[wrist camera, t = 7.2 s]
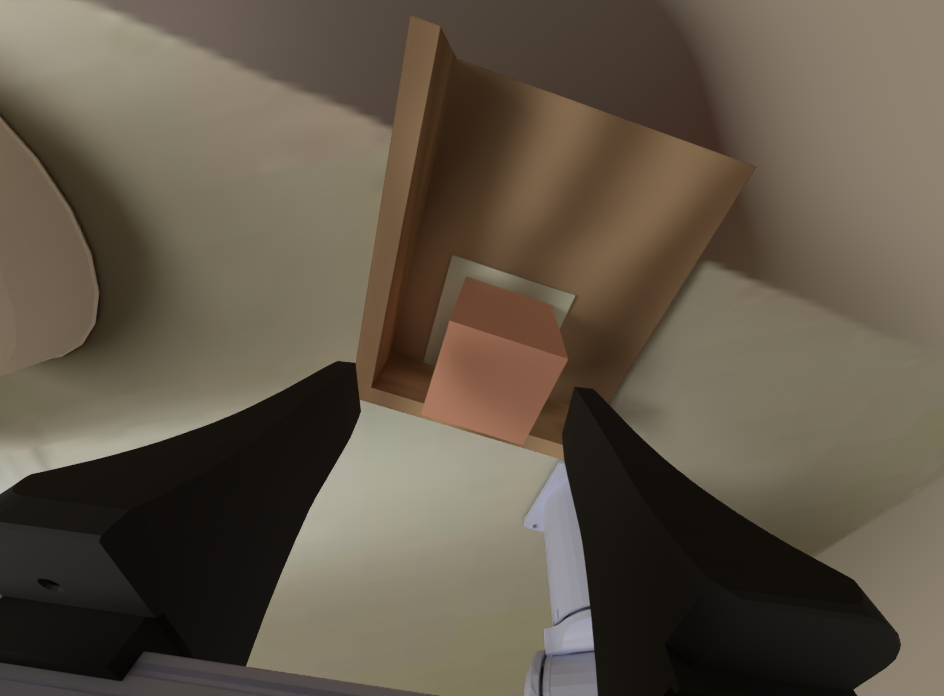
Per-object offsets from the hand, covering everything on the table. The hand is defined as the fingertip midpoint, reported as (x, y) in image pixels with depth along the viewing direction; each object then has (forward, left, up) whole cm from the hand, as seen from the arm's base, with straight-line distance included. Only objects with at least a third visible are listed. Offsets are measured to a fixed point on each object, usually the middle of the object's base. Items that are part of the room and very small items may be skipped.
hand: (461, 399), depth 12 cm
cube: (-1, +1, -9) cm, 9 cm away
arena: (-2, -2, -10) cm, 11 cm away
